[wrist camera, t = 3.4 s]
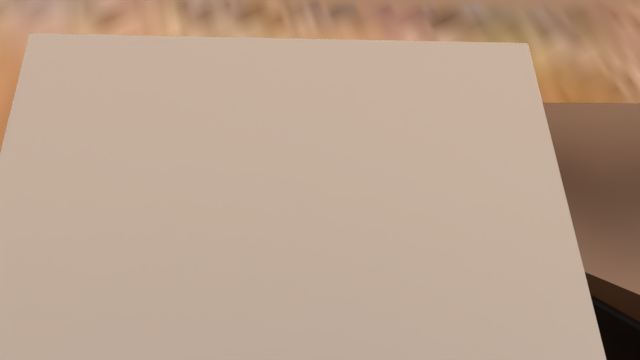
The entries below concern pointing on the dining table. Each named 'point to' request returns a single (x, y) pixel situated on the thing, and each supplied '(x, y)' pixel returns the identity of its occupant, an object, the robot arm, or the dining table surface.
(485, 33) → the dining table surface
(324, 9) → the dining table surface
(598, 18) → the dining table surface
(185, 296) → the cream matte box
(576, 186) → the board
